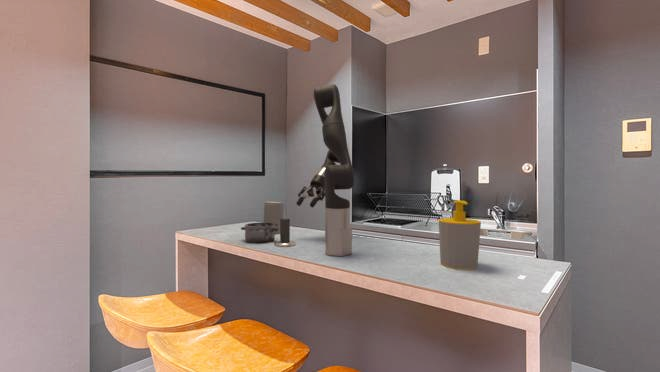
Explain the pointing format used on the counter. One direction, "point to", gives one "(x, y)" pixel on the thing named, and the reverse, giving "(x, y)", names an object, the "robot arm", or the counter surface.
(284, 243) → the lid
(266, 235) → the pot
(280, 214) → the skincare box
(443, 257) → the soap bottle
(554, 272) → the counter surface
